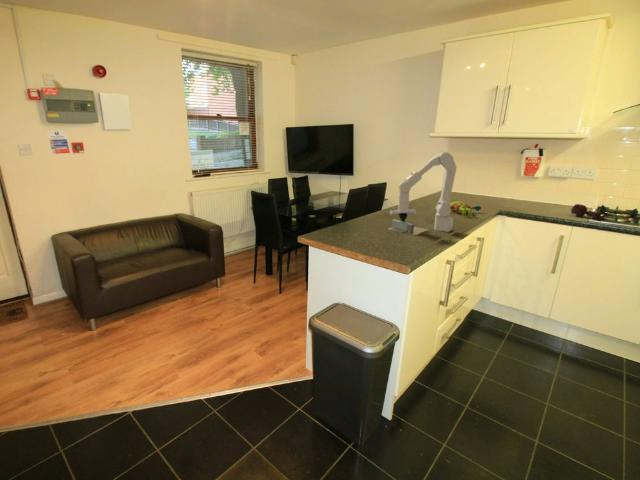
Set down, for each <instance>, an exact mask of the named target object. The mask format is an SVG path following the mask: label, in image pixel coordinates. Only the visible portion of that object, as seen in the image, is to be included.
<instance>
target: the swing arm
mask: <svg viewBox="0 0 640 480" xmlns="http://www.w3.org/2000/svg"><path fill="white" fill-rule="evenodd" d="M410 226H414V227H417V223H415V222H409V221H404V222H402V221H401V220H398V219H392V220H391V227H396V228H399V229H402V230H406V231H409V230H410Z"/></svg>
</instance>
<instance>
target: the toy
mask: <svg viewBox="0 0 640 480" xmlns="http://www.w3.org/2000/svg"><path fill="white" fill-rule="evenodd" d="M450 209H451V212H452V211H453V212H456V213H458V214H460V215H461V216H460V217H462V218H463V217H464V218H465V217H468V218H473V210H475V211H478V212H479V211H480V210H482V206H481V205H476V206H470V205H468V204H467V203H466V202H463V201H457V200H456V201H452V202H451V201H450ZM467 213H468V214H467Z"/></svg>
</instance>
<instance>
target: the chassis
mask: <svg viewBox="0 0 640 480" xmlns="http://www.w3.org/2000/svg"><path fill="white" fill-rule="evenodd" d="M388 230H391V231H396V232H400V233H405V234H409V235H414V236H415V235H416V236H417V235H420V234H421V233H424V232H426V231H428V230H429V229H428V228H422V227H418V226H410V232H409V231H404V230H402V229H399V228H396V227H392V226H391V227H388Z"/></svg>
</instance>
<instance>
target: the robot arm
mask: <svg viewBox="0 0 640 480" xmlns="http://www.w3.org/2000/svg"><path fill="white" fill-rule="evenodd" d="M436 166H437V167H438V166H442V167H443V168H444V169H445V174H444V179H443V183H442V189H441V194H440V198H439V199H438V202H437V204H436V205H435V209H434V210H435V212H436V213H435V217H434V226H433V229H434V230H435V231H439V232H445V233H446V232H447V233H449V232H451V231H453V225H454V224H453V223H454V218H453V217H452V216H450V214H451V212H452V210H451V209H450V203H451V195H452V192H453V191H452V190H453V187H454V181H455V178H456V177H455V176H456V173H457V165H456V163H455V159H454V156H453V155H452V154H451V153H449V152H445V151H439V152H438V153H437V154H435V155H434V156H433V157H431V158H430V160H428V161H427V162H426V163H425V164H424V165H423V166H422V167H420V168H419V170H417V171H411V172H410V175H408V176H407V177H406V178H404V179H403V181H401V182H400V183H399V185H398V186H397V188H398V191H399V192H398V204H397V205H398V207H397V209H394V210H390V211H389V214H390V215H398V216H399V218H400V221H402V222H406V219H407V217H408V214H409V215H410V214H416V209H409V206H410V205H409V203H410V191H411V190H412V189H411V188H413V187H414V186H415V185H416V184H417V183H418V182H420V181H421V180H422V176H423V175H424V174H426V173H427V172H428V171H429V170H431V169H433V168H434V167H436Z"/></svg>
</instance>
